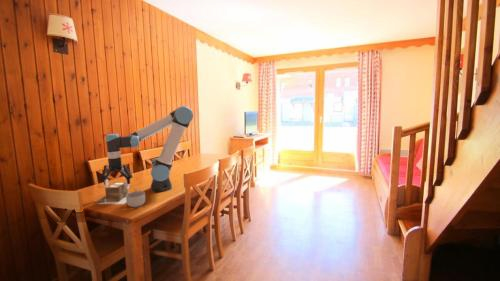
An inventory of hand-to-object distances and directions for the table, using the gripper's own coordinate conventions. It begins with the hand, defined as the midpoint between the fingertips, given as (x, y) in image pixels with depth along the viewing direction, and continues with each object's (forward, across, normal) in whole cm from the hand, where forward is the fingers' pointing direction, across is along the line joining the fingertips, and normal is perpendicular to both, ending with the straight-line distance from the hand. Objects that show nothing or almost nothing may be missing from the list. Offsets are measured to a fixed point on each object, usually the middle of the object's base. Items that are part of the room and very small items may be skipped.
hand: (117, 189), depth 167 cm
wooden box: (+6, -1, 0) cm, 6 cm away
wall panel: (+7, 0, 0) cm, 7 cm away
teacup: (+7, +17, -10) cm, 21 cm away
